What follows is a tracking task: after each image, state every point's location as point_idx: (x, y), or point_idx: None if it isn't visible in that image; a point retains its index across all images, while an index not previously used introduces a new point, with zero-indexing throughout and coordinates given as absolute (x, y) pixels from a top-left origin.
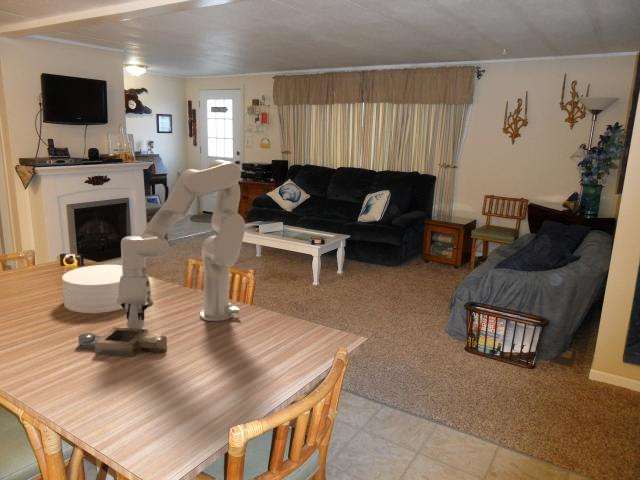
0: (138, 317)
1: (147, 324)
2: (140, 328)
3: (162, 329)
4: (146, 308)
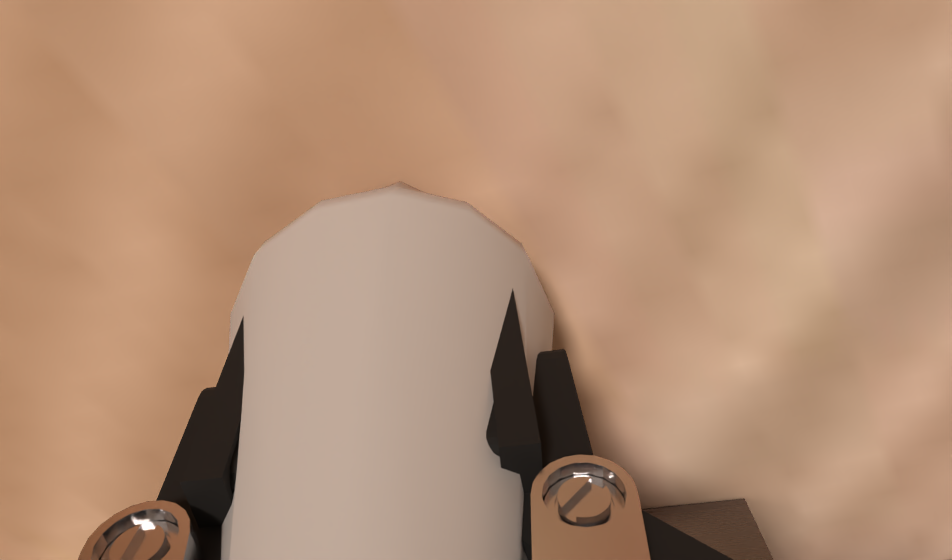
0: None
1: (467, 7)
2: None
3: (834, 144)
4: (703, 557)
